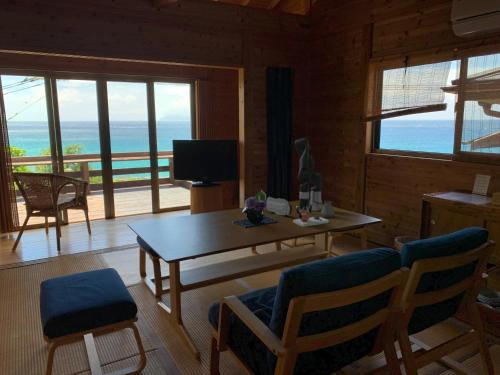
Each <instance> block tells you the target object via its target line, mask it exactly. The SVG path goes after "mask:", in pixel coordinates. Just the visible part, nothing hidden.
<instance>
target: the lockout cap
mask: <svg viewBox="0 0 500 375" xmlns="http://www.w3.org/2000/svg"><path fill="white" fill-rule="evenodd" d="M309 218H310V213H309V214H307V212H302V219H301V220H309ZM298 219H300V218H299V217H298Z"/></svg>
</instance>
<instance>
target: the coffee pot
mask: <svg viewBox="0 0 500 375" xmlns="http://www.w3.org/2000/svg"><path fill="white" fill-rule="evenodd" d="M314 202H315V203H317V204H321V203H319V202H316V201H313V203H314ZM323 202H324V204H323V203H322V204H321V205H322V210H320V215H321V216H322V218H326V219H327V218H332V217H334V216H335V210H334V208H333V205H332V200H324V201H323Z"/></svg>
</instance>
